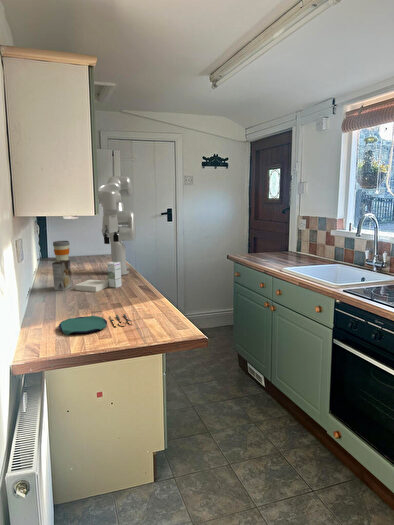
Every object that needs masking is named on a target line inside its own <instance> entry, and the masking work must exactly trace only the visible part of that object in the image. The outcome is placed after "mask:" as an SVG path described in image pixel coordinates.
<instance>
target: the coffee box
mask: <svg viewBox="0 0 394 525" xmlns="http://www.w3.org/2000/svg"><path fill="white" fill-rule="evenodd" d="M51 265H52V266H51V267H52V277H53V287H54V288H53V289H54V291H63V290H64V291H66V290H68V289H70V288H72V287H73V285H72V284H73V283H72V273H71V272H72V271H71V262H70V259H68V260H59V261H57V260H56V261H54V262H52V264H51Z"/></svg>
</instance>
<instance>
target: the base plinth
mask: <svg viewBox="0 0 394 525" xmlns="http://www.w3.org/2000/svg"><path fill="white" fill-rule="evenodd" d="M106 288H109V287H108V280H100V279H99V280H97V279H87V280H84V281H82V282H79V283H77V284H75V285H74V290H75V291H79V292H82V291H83V292H93V293H97V292H99V291H102V290H104V289H106Z"/></svg>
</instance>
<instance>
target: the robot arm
mask: <svg viewBox="0 0 394 525" xmlns="http://www.w3.org/2000/svg"><path fill="white" fill-rule="evenodd" d="M97 189H98V199H99V203H98V204H100V205H101V204H102V210H103V214H102V221H101V222H102V228H101V233H102V237H103V242H104V244H105V245H110V254H111V256H110V257H111V262H120V265H121V276H123V275H127V274H129V273H130V271H129V270H127V269H129V268H130V266H129V265H127V254H126V253H127V252H126V246H125V244H124V243H123V242H124V241H127V242H128V241H134V240H135V239H136V234H137V233H136V215H135V213H134V212H133V210H124V208H125V207H124V206H125V205H124V203H123V201H122V198H125V197H127V198H128V197H131V196H132V195H133V185H132V181H131V178H130V177H129V176H127V175H113V176H110V177H108V179H107V182H106V183H105V184H104V185H100V186H99V187H98V188H97Z"/></svg>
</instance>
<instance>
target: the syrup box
mask: <svg viewBox="0 0 394 525" xmlns="http://www.w3.org/2000/svg"><path fill="white" fill-rule="evenodd" d="M106 268H107V269H106V270H107V281H108V287H107V288H113V289H116V288H117V289H118V288H120V287H122V275H121V265H120V262H112V261H109V262H107V263H106Z"/></svg>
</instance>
